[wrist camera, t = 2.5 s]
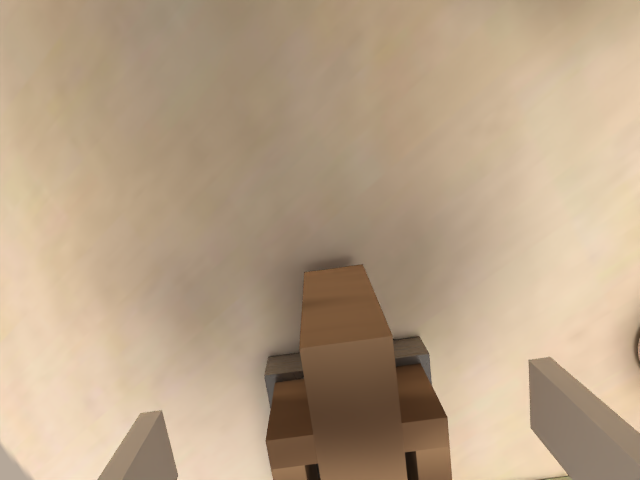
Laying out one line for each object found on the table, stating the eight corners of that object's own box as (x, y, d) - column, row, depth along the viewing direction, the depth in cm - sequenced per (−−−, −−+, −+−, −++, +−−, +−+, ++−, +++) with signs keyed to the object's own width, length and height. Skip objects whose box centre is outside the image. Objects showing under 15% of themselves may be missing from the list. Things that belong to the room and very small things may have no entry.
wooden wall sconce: (431, 485, 24) (488, 649, 16) (296, 502, 24) (288, 673, 16) (411, 257, 21) (470, 325, 13) (256, 279, 21) (222, 358, 13)
